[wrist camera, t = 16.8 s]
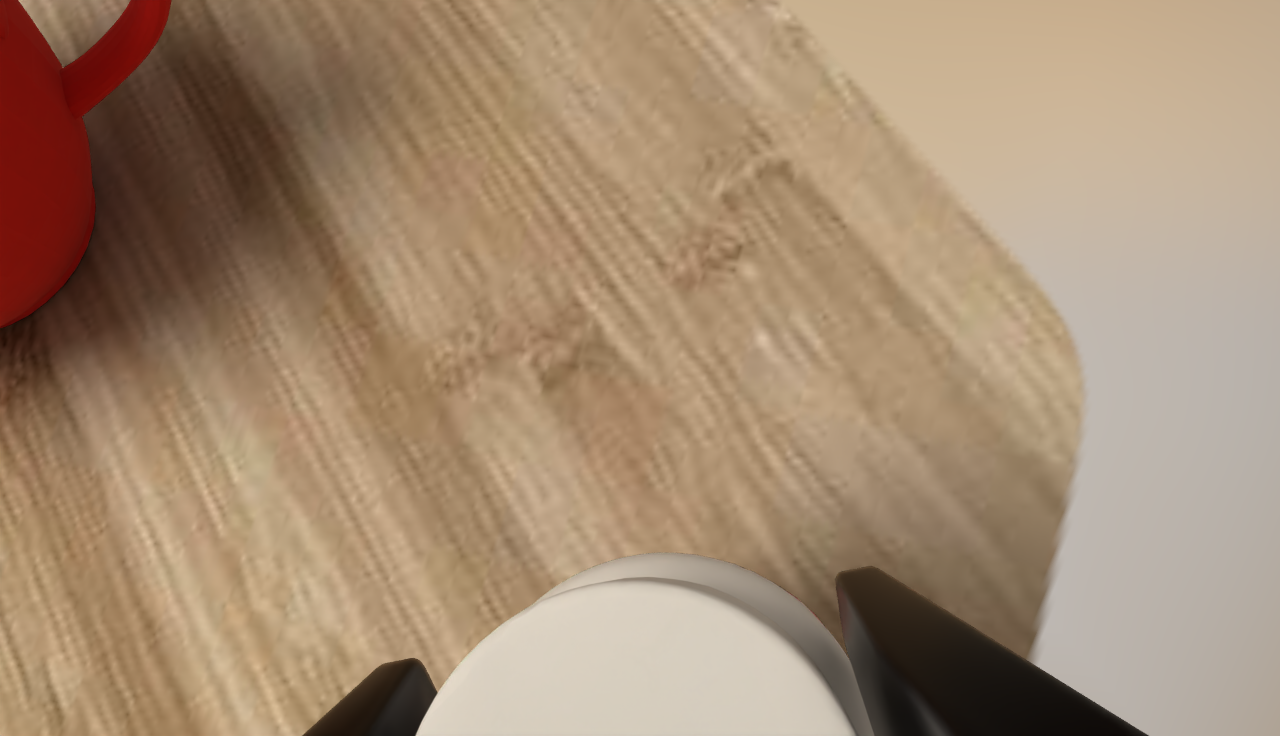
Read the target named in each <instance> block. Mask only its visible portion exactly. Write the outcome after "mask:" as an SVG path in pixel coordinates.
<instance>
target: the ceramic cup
mask: <svg viewBox="0 0 1280 736" xmlns="http://www.w3.org/2000/svg"><path fill="white" fill-rule="evenodd" d="M170 5H171V0H131V1H130V2H129V4H128V6H127V8H126V9H125V11H124V12H123V13H122V15H121V16H120V18H119V19H118V20H117V21H116V22H115V24H114V25H113V26H112V27H111V28H110V29H109V30H108V32H107V33H106V34H105V35H104V36H103V37H102V38H101V39H100V40H99V41H98V42H97V43H96V44H95V45H94V46H93V47H91V48H90V49H89V50H88V51H87V52H86V53H84V54H83V55H82V56H81V57H79V58H78V59H77V60H75V61H74V62H72V63H71V64H69V65H67V66H66V67H64V68H62V66H61V64H60V62H59V60H58V59H57V57H56V56H55V54H54V52H53V51H52V49H51V47H50V46H49V44H48V43H47V41H46V40H45V38H44V37H43V35H42V34H41V32H40V31H39V29H38V28H37V26H36V25H35V23H34V22H33V20H32V19H31V17H30V16H29V15H28V13H27V12H26V11H25V9H24V8H23V6H22V5H21V4H20V2H19V1H18V0H0V328H3V327H6V326H9V325H11V324H13V323H15V322H17V321H19V320H21V319H23V318H24V317H26V316H28V315H30V314H31V313H33V312H34V311H35V310H37V309H38V308H39V307H41V306H42V305H43V304H45V303H46V302H47V301H48V300H49V299H50V298H51V297H52V296H53V295H54V294H55V293H56V292H57V291H58V290H59V289H60V288H61V287H62V286H63V285H64V284H65V283H66V281H67V280H68V279H69V277H70V276H71V275H72V273H73V272H74V270H75V269H76V268H77V266H78V264H79V262H80V260H81V258H82V256H83V254H84V252H85V250H86V248H87V246H88V243H89V240H90V236H91V233H92V230H93V226H94V218H95V210H96V206H95V194H94V188H93V185H92V171H91V159H90V148H89V141H88V136H87V132H86V128H85V124H84V121H83V118H82V116H83V115H84V114H86V113H87V112H88V111H89V110H91V109H92V108H93V107H94V106H95V105H97V104H98V103H99V102H100V101H102V100H103V99H104V98H105V97H106V96H107V95H109V94H110V93H111V92H112V91H113V90H114V89H115V88H117V87H118V86H119V85H120V84H121V83H122V82H123V81H124V80H125V79H126V78H127V77H128V76H129V75H130V74H131V73H132V72H133V71H134V70H135V69H136V68H137V67H138V66H139V65H140V64H141V63H142V62H143V60H144V59H145V58H146V57H147V56H148V54H149V53H150V52H151V50H152V49H153V48H154V46H155V45H156V43H157V42H158V40H159V38H160V36H161V35H162V33H163V30H164V27H165V25H166V22H167V19H168V15H169V10H170Z"/></svg>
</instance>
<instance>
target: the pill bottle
mask: <svg viewBox="0 0 1280 736" xmlns="http://www.w3.org/2000/svg"><path fill="white" fill-rule="evenodd" d="M416 736H874V733H873V730H872V727H871V724H870V721H869V718H868V714H867V711H866V708H865V705H864V702H863V699H862V696H861V693H860V690H859V687H858V684H857V681H856V678H855V674H854V671H853V668H852V665H851V662H850V660H849V658H848V657H847V655H846V654H845V652H844V650H843V649H842V648H841V646H840V645H839V643H838V642H837V641H836V639H835V638H834V637H833V635H832V634H831V633H830V632H829V631H828V629H827V628H826V627H825V626H824V625H823V624H822V623H821V621H820V620H819V619H818V618H817V616H816V615H815V614H814V613H813V612H812V611H811V610H809V609H808V608H807V607H806V606H805V605H804V604H803V603H802V602H801V601H800V600H799V599H798V598H796V597H795V596H793V595H792V594H790V593H789V592H787V591H786V590H784V589H783V588H781V587H780V586H778V585H776V584H775V583H773V582H771V581H770V580H768V579H766V578H764V577H762V576H760V575H758V574H757V573H755V572H753V571H750V570H747V569H745V568H743V567H741V566H738V565H736V564H733V563H729V562H725V561H722V560H718V559H714V558H710V557H705V556H699V555H694V554H682V553H648V554H639V555H633V556H628V557H624V558H619V559H615V560H611V561H608V562H605V563H602V564H599V565H596V566H594V567H592V568H589V569H587V570H585V571H582V572H580V573H578V574H576V575H574V576H572V577H570V578H569V579H567V580H565V581H563V582H562V583H560V584H559V585H557V586H555V587H554V588H552V589H551V590H550V591H548V592H547V593H546V594H544V595H543V596H542V597H541V598H539V599H538V600H537V601H536V602H535V603H533V604H532V605H531V606H529V607H527V608H525V609H524V610H522V611H521V612H519V613H518V614H516V615H515V616H513V617H512V618H510V619H509V620H507V621H506V622H504V623H503V624H501V625H500V626H499V627H498V628H496V629H495V630H494V631H493V632H492V633H490V634H489V635H488V636H487V637H485V638H484V639H483V640H482V641H481V642H480V643H479V644H478V645H477V646H476V647H475V648H474V649H473V650H472V651H471V652H470V653H469V654H468V655H467V656H466V657H465V658H464V659H463V660H462V661H461V662H460V664H459V665H458V666H457V667H456V668H455V669H454V671H453V672H452V673H451V675H450V676H449V677H448V679H447V680H446V681H445V683H444V684H443V686H442V687H441V689H440V690H439V692H438V693H437V695H436V697H435V698H434V700H433V702H432V704H431V706H430V708H429V709H428V711H427V713H426V715H425V717H424V718H423V720H422V722H421V724H420V727H419V729H418V731H417V734H416Z"/></svg>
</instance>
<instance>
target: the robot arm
mask: <svg viewBox="0 0 1280 736" xmlns="http://www.w3.org/2000/svg"><path fill="white" fill-rule="evenodd" d="M835 582H836V590H837V597H838V604H839V611H840V618H841V625H842V632H843V637H844V641H845V645H846V649H847V653H848V656H849V659H850V662H851V665H852V668H853V671H854V674H855V678H856V681H857V684H858V687H859V690H860V693H861V696H862V699H863V702H864V705H865V708H866V711H867V714H868V718H869V721H870V724H871V727H872V730H873V733H874V736H1148V735H1147V734H1145V733H1143V732H1142V731H1140V730H1139V729H1137V728H1135V727H1134V726H1132V725H1130V724H1129V723H1127V722H1126V721H1124V720H1122V719H1121V718H1119V717H1117V716H1116V715H1114V714H1113V713H1111V712H1109V711H1108V710H1106V709H1105V708H1103V707H1101V706H1100V705H1098V704H1096V703H1095V702H1093V701H1092V700H1090V699H1088V698H1087V697H1085V696H1084V695H1082V694H1080V693H1079V692H1077V691H1076V690H1074V689H1072V688H1071V687H1069V686H1067V685H1066V684H1064V683H1062V682H1061V681H1059V680H1058V679H1056V678H1054V677H1053V676H1051V675H1050V674H1048V673H1046V672H1045V671H1043V670H1041V669H1040V668H1038V667H1037V666H1035V665H1034V664H1032V663H1030V662H1029V661H1027V660H1025V659H1024V658H1022V657H1021V656H1019V655H1017V654H1016V653H1014V652H1013V651H1011V650H1009V649H1008V648H1006V647H1004V646H1003V645H1001V644H1000V643H998V642H996V641H995V640H993V639H992V638H990V637H988V636H987V635H985V634H983V633H982V632H980V631H979V630H977V629H975V628H974V627H972V626H971V625H969V624H967V623H966V622H964V621H962V620H961V619H959V618H958V617H956V616H954V615H953V614H951V613H949V612H948V611H946V610H945V609H943V608H941V607H940V606H938V605H937V604H935V603H933V602H932V601H930V600H928V599H927V598H925V597H924V596H922V595H920V594H919V593H917V592H916V591H914V590H912V589H911V588H909V587H907V586H906V585H904V584H903V583H901V582H899V581H898V580H896V579H895V578H893V577H891V576H890V575H888V574H886V573H885V572H883V571H882V570H880V569H878V568H876V567H873V566H867V567H862V568H857V569H852V570H847V571H842V572H839V573H838V574H837V576H836V579H835ZM437 693H438V692H437V690H436V688H435V686H434V684H433V682H432V680H431V678H430V676H429V674H428V672H427V670H426V668H425V667H424V665H423V664H422V662H421V661H420V660H418V659H415V658H409V659H404V660H399V661H394V662H389V663H385V664H382V665H381V666H379V667H378V668H376V669H375V670H374V671H373V672H372V673H371V674H370V675H369V676H368V677H366V678H365V679H364V680H363V681H362V682H361V683H360V684H359V685H358V686H357V687H355V688H354V689H353V690H352V691H351V692H350V693H349V694H348V695H347V696H346V697H344V698H343V699H342V700H341V701H340V702H339V703H338V704H337V705H336V706H335V707H333V708H332V709H331V710H330V711H329V712H328V713H327V714H326V715H325V716H324V717H322V718H321V719H320V720H319V721H318V722H317V723H316V724H315V725H314V726H312V727H311V728H310V729H309V730H308V731H307V732H306V733H305V734H304V735H303V736H416V734H417V731H418V729H419V727H420V724H421V722H422V720H423V718H424V717H425V715H426V713H427V711H428V709H429V708H430V706H431V704H432V702H433V700H434V698H435V697H436V695H437Z"/></svg>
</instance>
